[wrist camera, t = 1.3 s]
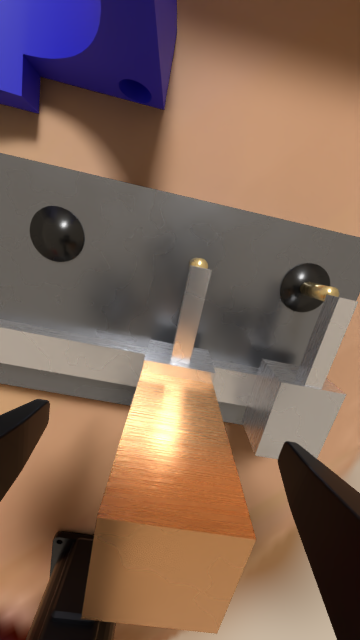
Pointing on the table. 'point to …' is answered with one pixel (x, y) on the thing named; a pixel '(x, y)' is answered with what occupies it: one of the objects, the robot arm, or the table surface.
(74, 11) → the cable clip
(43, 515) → the table surface
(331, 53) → the table surface
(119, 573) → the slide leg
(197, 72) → the table surface
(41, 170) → the plate
